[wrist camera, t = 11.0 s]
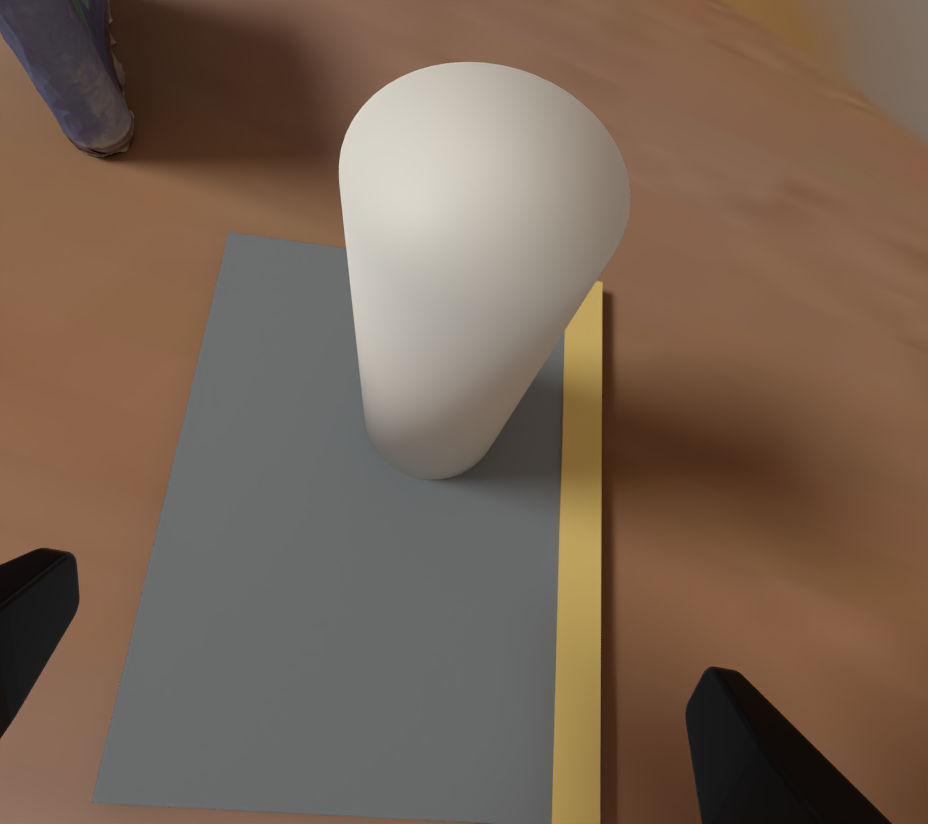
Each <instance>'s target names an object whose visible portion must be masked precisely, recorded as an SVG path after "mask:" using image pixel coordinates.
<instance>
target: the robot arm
mask: <svg viewBox="0 0 928 824" xmlns="http://www.w3.org/2000/svg"><path fill="white" fill-rule="evenodd" d="M78 605H79V584H78V573H77V562H76V558H75V556H74V555H73V554H72V553H70V552H66V551H61V550H55V549H49V548H39V549H36V550H33V551H31V552H29V553H26V554H24V555H22V556H20V557H17V558H15V559H13V560H10V561H8V562H6V563H4V564H1V565H0V738H1V737H2V735H3V734H4V733H5V731H6V730H7V728H8V727H9V725H10V724H11V722H12V721H13V719H14V718H15V716H16V714H17V713H18V711H19V709H20V708H21V706H22V705H23V703H24V701H25V700H26V698H27V696H28V694H29V693H30V691H31V689H32V688H33V686H34V684H35V682H36V681H37V679H38V677H39V676H40V674H41V672H42V670H43V669H44V667H45V665H46V664H47V662H48V660H49V659H50V657H51V655H52V653H53V652H54V650H55V648H56V647H57V645H58V643H59V641H60V640H61V638H62V636H63V635H64V633H65V631H66V629H67V628H68V626H69V624H70V623H71V621H72V619H73V617H74V616H75V614H76V611H77V608H78ZM686 726H687V733H688V739H689V745H690V752H691V758H692V765H693V771H694V778H695V784H696V791H697V797H698V804H699V810H700V816H701V822H702V824H892V823H891V822H890V821H889V820H888V819H887V818H886V817H885V816H884V815H883V814H882V813H881V812H880V811H879V810H878V809H877V808H876V807H875V806H874V805H873V804H872V803H871V802H870V801H869V800H868V799H867V798H866V797H865V796H864V795H863V794H862V793H861V792H860V791H859V790H858V789H857V788H856V787H855V786H854V785H853V784H852V783H851V782H850V781H849V780H848V779H847V778H845V777H844V776H843V775H842V774H841V773H840V772H839V771H838V770H837V769H836V768H835V767H834V766H833V765H832V764H831V763H830V762H829V761H828V760H827V759H826V758H825V757H824V756H823V755H822V754H821V753H820V752H819V751H818V750H817V749H816V748H815V747H814V746H813V745H812V744H811V743H810V742H809V741H808V740H807V739H806V738H805V737H804V736H803V735H802V734H801V733H800V732H799V731H798V730H797V729H796V728H795V727H794V726H793V725H792V724H791V723H790V722H789V721H788V720H787V719H786V718H785V717H784V716H783V715H782V714H781V713H780V712H779V711H778V710H777V709H776V708H775V707H774V706H773V705H772V704H771V703H770V702H769V701H768V700H767V699H766V698H765V697H764V696H763V695H762V694H761V693H760V692H759V691H758V690H757V689H756V688H755V687H754V686H753V685H752V684H751V683H750V682H749V681H748V680H747V679H746V678H745V677H744V676H743V675H742V674H740V673H739V672H737V671H735V670H731V669H725V668H720V667H709V668H707V669H706V670H705V671H704V673H703V675H702V677H701V679H700V680H699V682H698V684H697V686H696V688H695V690H694V692H693V694H692V696H691V697H690V699H689V701H688V704H687V707H686Z"/></svg>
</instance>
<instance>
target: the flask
mask: <svg viewBox="0 0 928 824" xmlns="http://www.w3.org/2000/svg"><path fill="white" fill-rule="evenodd" d="M109 1H110V0H0V32H1V34H2V36H3V38H4V40H5V41H6V42H7V44H8V45H9V46H10V47H11V49H12V50H13V52H14V53H15V55H16V56H17V58H18V59H19V61H20V62H21V64H22V65H23V67H24V69H25V70H26V72H27V73H28V75H29V77H30V78H31V80H32V82H33V84H34V85H35V87H36V89H37V90H38V92H39V93H40V95H41V96H42V97H43V99H44V100H45V102H46V103H47V105H48V106H49V108H50V109H51V111H52V112H53V114H54V116H55V117H56V119H57V120H58V122H59V124H60V126H61V129H62V131H63V132H64V133H65V135H66V136H67V137H68V138H69V140H70V141H71V142H72V143H73V144H74V145H75V146H76V147H77V148H78V149H81V150H82V151H83V153H84V154H86V155H92V156H94V157H105V156H106V155H108V154H111V155H112V154H114V152H115V153H117V152H119V151H120V152H123V151H125V152H126V151H127V150H128V148H129V145H130V144H129V143H130V142H131V139H132V137H133V132H134V124H133V123H134V118H135V116H134V115H133V114H134V113H133V111H131V110H129V108H128V106H127V104H126V100H125V95H124V92H125V90H124V86H125V85H126V83H125V80H124V76H125V75H126V73H125V72H124V71H123V65H122V64H121V63H120V61H117V57H115V55H114V54H113V53H112V50H111V49H112V45H113V44H115V43H117V42H116V41H115V40H114V38H113V37H112V36H111V34H110V31H109V26H110V24H111V21H113V19H111V15H110V8H111V7H110V4H109ZM89 149H93V150H95V151H99V152H103V153H106V154H98V153H97V152H93V151H91V150H89Z"/></svg>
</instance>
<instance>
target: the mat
mask: <svg viewBox="0 0 928 824" xmlns="http://www.w3.org/2000/svg"><path fill="white" fill-rule="evenodd" d="M601 503H602V282H598V281H596V282H595V284H594V285H593V287H592V289H591V290H590V292H589V293H588V295H587V296H586V298H585V300H584V301H583V303H582V304H581V306H580V307H579V309H578V311H577V312H576V314H575V315H574V317H573V318H572V320H571V322H570V323H569V325H568V326H567V328H566V329H565V331H564V333H563V334H562V336H561V337H560V339H559V340H558V342H557V344H556V345H555V347H554V348H553V350H552V351H551V353H550V355H549V356H548V358H547V359H546V361H545V362H544V364H543V366H542V367H541V369H540V370H539V372H538V373H537V375H536V377H535V378H534V380H533V381H532V383H531V384H530V386H529V388H528V389H527V391H526V392H525V394H524V395H523V397H522V399H521V400H520V402H519V403H518V405H517V406H516V408H515V410H514V411H513V413H512V414H511V416H510V417H509V419H508V421H507V422H506V424H505V425H504V427H503V428H502V430H501V432H500V433H499V435H498V436H497V438H496V439H495V441H494V443H493V444H492V446H491V447H490V449H489V450H488V452H487V453H486V455H485V456H484V457H483V458H482V459H481V460H480V461H479V462H478V463H477V464H476V465H475V466H474V467H472V468H471V469H469V470H467V471H466V472H464V473H462V474H459V475H457V476H454V477H451V478H446V479H439V480H427V479H420V478H415V477H412V476H409V475H406V474H404V473H402V472H400V471H398V470H396V469H395V468H393V467H392V466H390V465H389V464H388V463H387V462H386V461H385V460H383V458H382V457H381V456H380V455H379V454H378V453H377V451H376V450H375V448H374V447H373V445H372V443H371V441H370V439H369V436H368V433H367V430H366V425H365V419H364V409H363V400H362V391H361V381H360V372H359V362H358V353H357V344H356V334H355V325H354V316H353V306H352V297H351V288H350V278H349V269H348V260H347V250H346V248H339V247H332V246H325V245H317V244H310V243H303V242H295V241H288V240H281V239H274V238H266V237H259V236H252V235H244V234H237V233H230V232H229V233H228V237H227V241H226V246H225V250H224V254H223V258H222V262H221V266H220V270H219V275H218V279H217V283H216V287H215V291H214V295H213V300H212V304H211V308H210V312H209V316H208V320H207V324H206V329H205V333H204V337H203V341H202V345H201V349H200V353H199V358H198V362H197V366H196V370H195V374H194V378H193V383H192V387H191V391H190V395H189V399H188V403H187V407H186V412H185V416H184V420H183V424H182V428H181V432H180V437H179V441H178V445H177V449H176V453H175V457H174V461H173V466H172V470H171V474H170V478H169V482H168V486H167V490H166V495H165V499H164V503H163V507H162V511H161V515H160V520H159V524H158V528H157V532H156V536H155V540H154V544H153V549H152V553H151V557H150V561H149V565H148V569H147V574H146V578H145V582H144V586H143V590H142V594H141V598H140V603H139V607H138V611H137V615H136V619H135V623H134V627H133V632H132V636H131V640H130V644H129V648H128V652H127V657H126V661H125V665H124V669H123V673H122V677H121V681H120V686H119V690H118V694H117V698H116V702H115V706H114V711H113V715H112V719H111V723H110V727H109V731H108V735H107V740H106V744H105V748H104V752H103V756H102V760H101V764H100V769H99V773H98V777H97V781H96V785H95V789H94V794H93V798H92V802H91V803H103V804H123V805H142V806H162V807H181V808H201V809H220V810H240V811H259V812H279V813H298V814H318V815H337V816H357V817H376V818H396V819H415V820H435V821H454V822H474V823H493V824H600V748H601Z"/></svg>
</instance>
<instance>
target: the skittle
mask: <svg viewBox="0 0 928 824" xmlns="http://www.w3.org/2000/svg"><path fill="white" fill-rule="evenodd" d="M339 185H340V194H341V203H342V213H343V222H344V231H345V241H346V250H347V260H348V269H349V278H350V288H351V297H352V306H353V316H354V325H355V334H356V344H357V353H358V362H359V372H360V381H361V391H362V400H363V409H364V419H365V425H366V430H367V433H368V436H369V439H370V441H371V443H372V445H373V447H374V448H375V450H376V451H377V453H378V454H379V455H380V456H381V457H382V458H383V460H385V461H386V462H387V463H388V464H389V465H390V466H392V467H393V468H395V469H396V470H398V471H400V472H402V473H404V474H406V475H409V476H412V477H415V478H420V479H427V480H439V479H446V478H451V477H454V476H457V475H459V474H462V473H464V472H466V471H467V470H469V469H471V468H472V467H474V466H475V465H476V464H477V463H478V462H479V461H480V460H481V459H482V458H483V457H484V456H485V455H486V453H487V452H488V450H489V449H490V447H491V446H492V444H493V443H494V441H495V439H496V438H497V436H498V435H499V433H500V432H501V430H502V428H503V427H504V425H505V424H506V422H507V421H508V419H509V417H510V416H511V414H512V413H513V411H514V410H515V408H516V406H517V405H518V403H519V402H520V400H521V399H522V397H523V395H524V394H525V392H526V391H527V389H528V388H529V386H530V384H531V383H532V381H533V380H534V378H535V377H536V375H537V373H538V372H539V370H540V369H541V367H542V366H543V364H544V362H545V361H546V359H547V358H548V356H549V355H550V353H551V351H552V350H553V348H554V347H555V345H556V344H557V342H558V340H559V339H560V337H561V336H562V334H563V333H564V331H565V329H566V328H567V326H568V325H569V323H570V322H571V320H572V318H573V317H574V315H575V314H576V312H577V311H578V309H579V307H580V306H581V304H582V303H583V301H584V300H585V298H586V296H587V295H588V293H589V292H590V290H591V289H592V287H593V285H594V284H595V282H596V281H597V279H598V278H599V276H600V274H601V273H602V271H603V270H604V268H605V266H606V265H607V263H608V262H609V260H610V259H611V257H612V255H613V254H614V252H615V251H616V249H617V248H618V246H619V244H620V241H621V239H622V237H623V235H624V233H625V229H626V226H627V222H628V218H629V210H630V185H629V180H628V175H627V170H626V167H625V164H624V161H623V159H622V156H621V154H620V152H619V150H618V148H617V146H616V144H615V142H614V140H613V138H612V137H611V136H610V134H609V133H608V131H607V130H606V128H605V127H604V126H603V124H602V123H601V122H600V121H599V120H598V119H597V117H596V116H595V115H594V114H593V113H592V112H591V111H590V110H589V109H588V108H587V107H585V106H584V105H583V104H582V103H581V102H580V101H579V100H577V99H576V98H575V97H573V96H572V95H571V94H569V93H568V92H566V91H565V90H563V89H561V88H560V87H558V86H556V85H555V84H553V83H551V82H549V81H547V80H545V79H542V78H540V77H538V76H536V75H533V74H530V73H528V72H525V71H522V70H519V69H515V68H511V67H507V66H503V65H497V64H490V63H479V62H458V63H447V64H441V65H435V66H430V67H427V68H423V69H420V70H416V71H414V72H411V73H409V74H407V75H404V76H402V77H400V78H398V79H396V80H395V81H393V82H391V83H389V84H388V85H386V86H385V87H383V88H382V89H381V90H380V91H378V92H377V93H376V94H374V95H373V96H372V97H371V98H370V99H369V100H368V101H367V102H366V103H365V104H364V105H363V106H362V108H361V109H360V111H359V112H358V113H357V115H356V116H355V118H354V119H353V121H352V123H351V125H350V127H349V129H348V131H347V133H346V135H345V138H344V141H343V145H342V148H341V153H340V160H339Z"/></svg>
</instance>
